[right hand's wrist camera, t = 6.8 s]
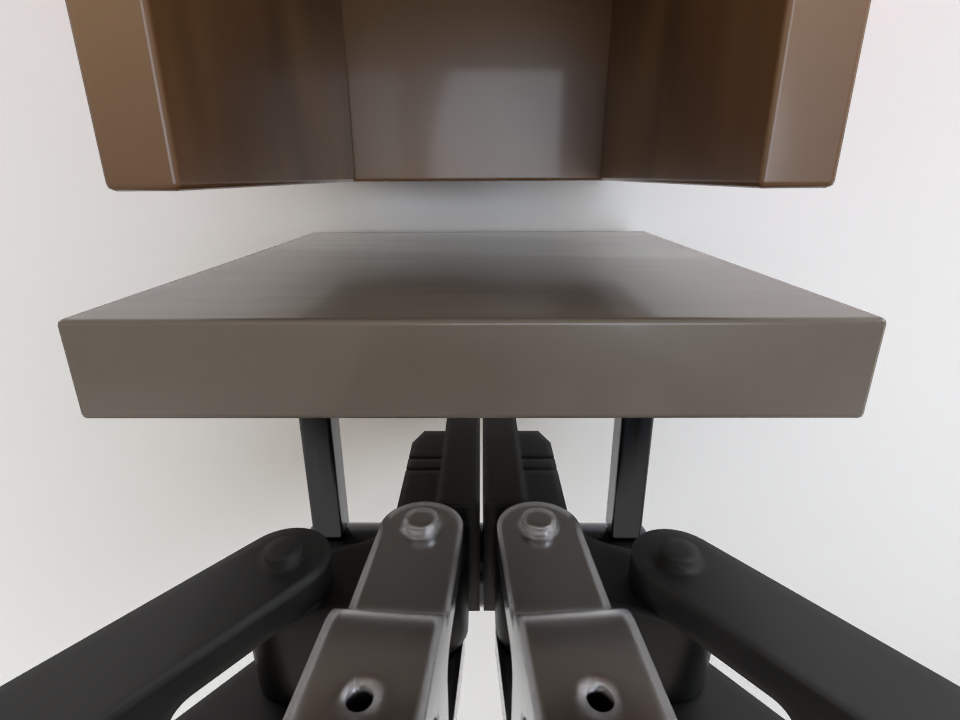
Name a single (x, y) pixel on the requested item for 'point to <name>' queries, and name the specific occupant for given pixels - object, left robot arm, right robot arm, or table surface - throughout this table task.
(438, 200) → the table surface
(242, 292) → the drawer
